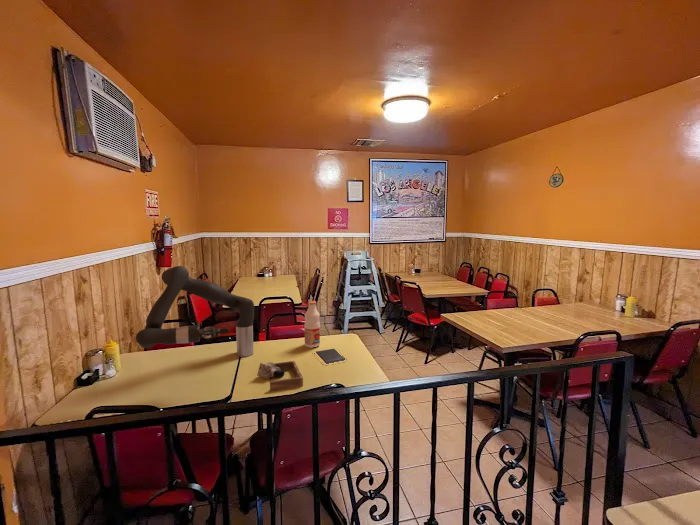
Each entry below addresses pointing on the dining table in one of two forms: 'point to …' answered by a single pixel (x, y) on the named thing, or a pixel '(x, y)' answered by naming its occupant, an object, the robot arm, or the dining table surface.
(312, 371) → the dining table surface
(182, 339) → the robot arm
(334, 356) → the wallet
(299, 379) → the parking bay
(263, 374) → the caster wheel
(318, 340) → the fruit juice
